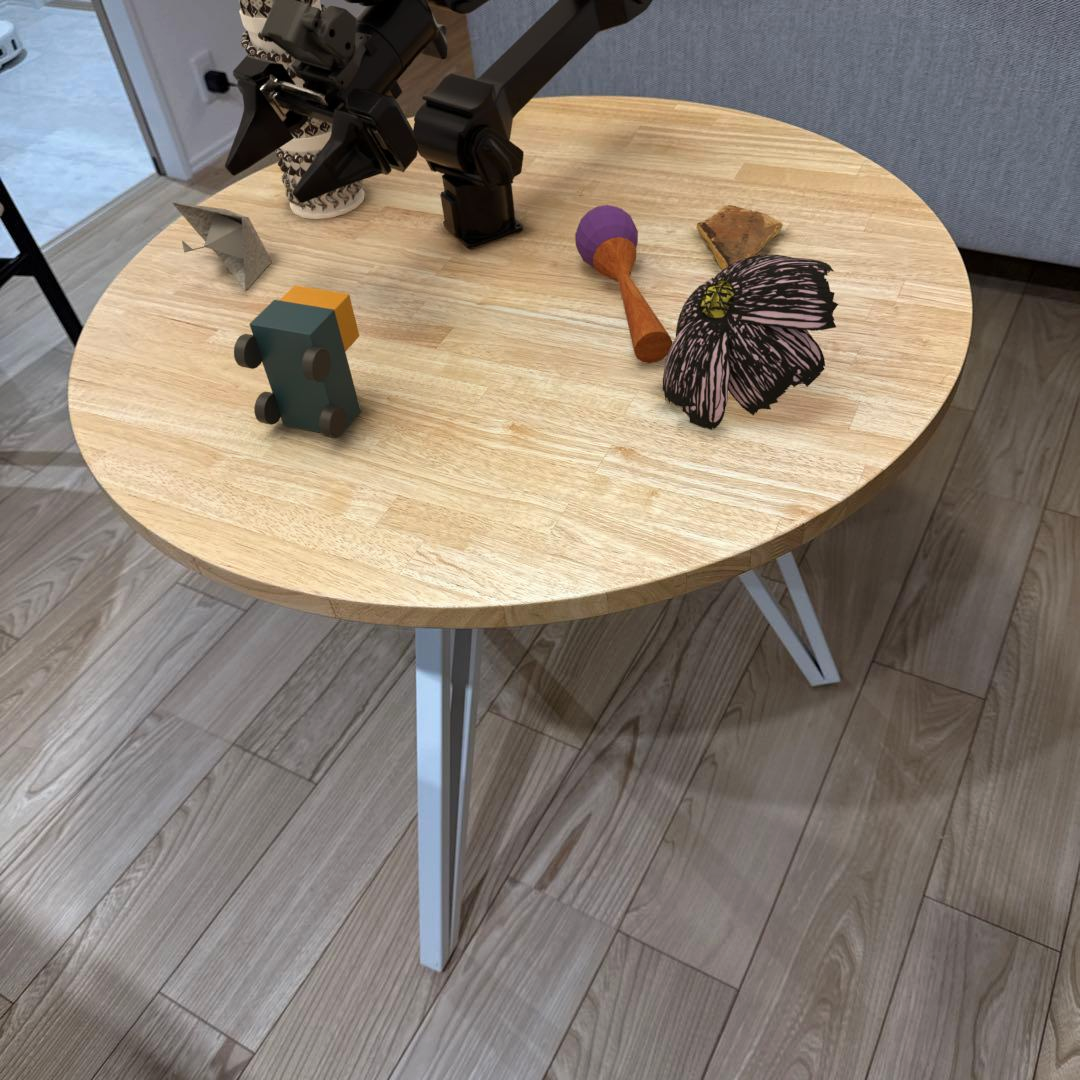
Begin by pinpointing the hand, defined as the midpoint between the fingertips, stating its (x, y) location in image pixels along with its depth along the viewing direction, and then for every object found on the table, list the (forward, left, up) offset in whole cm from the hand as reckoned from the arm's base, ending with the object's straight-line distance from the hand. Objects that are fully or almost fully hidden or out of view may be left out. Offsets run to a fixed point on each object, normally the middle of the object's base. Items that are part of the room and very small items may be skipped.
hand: (261, 184), depth 83 cm
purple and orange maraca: (-27, +13, -15) cm, 34 cm away
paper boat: (+2, -18, -15) cm, 24 cm away
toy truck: (+3, +12, -15) cm, 20 cm away
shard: (-42, +12, -15) cm, 46 cm away
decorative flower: (-28, +29, -15) cm, 43 cm away
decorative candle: (-12, -25, -15) cm, 31 cm away
